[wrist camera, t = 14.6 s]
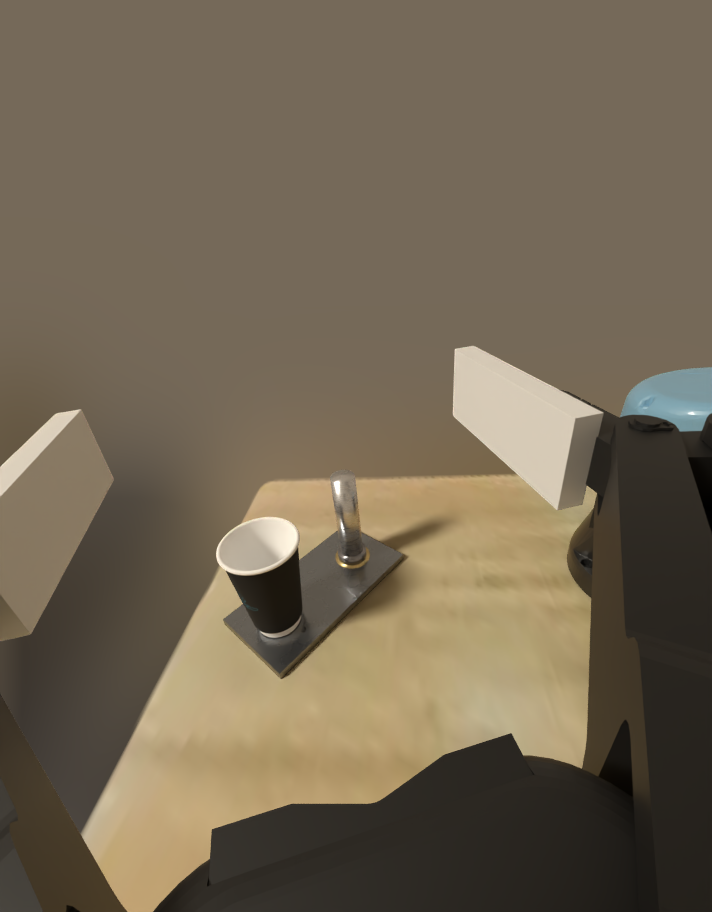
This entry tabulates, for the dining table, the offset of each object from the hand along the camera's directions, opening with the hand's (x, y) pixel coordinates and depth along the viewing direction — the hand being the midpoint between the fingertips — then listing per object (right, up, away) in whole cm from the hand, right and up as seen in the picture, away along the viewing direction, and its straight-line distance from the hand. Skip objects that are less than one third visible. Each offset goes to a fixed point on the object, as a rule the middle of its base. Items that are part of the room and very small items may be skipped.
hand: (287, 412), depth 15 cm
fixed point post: (+2, -15, +38) cm, 41 cm away
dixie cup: (-6, -20, +30) cm, 36 cm away
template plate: (-2, -18, +34) cm, 38 cm away
